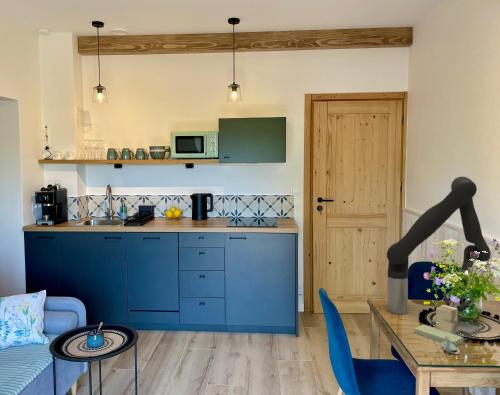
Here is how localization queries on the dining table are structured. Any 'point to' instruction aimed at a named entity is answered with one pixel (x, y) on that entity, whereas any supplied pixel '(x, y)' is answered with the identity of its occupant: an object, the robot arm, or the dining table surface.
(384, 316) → the dining table surface
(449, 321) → the birch block
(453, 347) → the pacifier
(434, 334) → the trap deck
